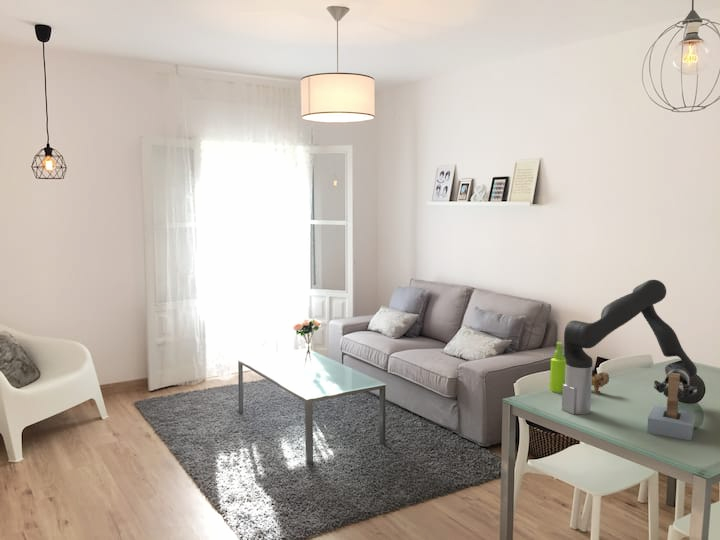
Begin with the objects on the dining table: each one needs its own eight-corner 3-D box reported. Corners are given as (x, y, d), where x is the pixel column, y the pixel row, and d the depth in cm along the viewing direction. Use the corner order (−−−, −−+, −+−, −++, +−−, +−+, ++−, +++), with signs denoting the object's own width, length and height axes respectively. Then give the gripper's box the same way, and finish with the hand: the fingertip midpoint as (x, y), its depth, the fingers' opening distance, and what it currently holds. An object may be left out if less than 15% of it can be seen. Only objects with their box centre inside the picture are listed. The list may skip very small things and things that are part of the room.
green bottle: (564, 388, 250) (566, 341, 247) (564, 393, 243) (566, 344, 241) (550, 387, 251) (551, 340, 249) (549, 392, 245) (551, 343, 243)
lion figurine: (610, 393, 244) (611, 371, 243) (605, 396, 240) (606, 374, 239) (575, 385, 253) (576, 365, 252) (569, 388, 250) (570, 367, 249)
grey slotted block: (691, 440, 195) (692, 425, 195) (647, 432, 202) (648, 418, 201) (694, 426, 208) (695, 412, 207) (652, 419, 215) (653, 405, 214)
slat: (676, 424, 202) (678, 377, 200) (666, 422, 203) (668, 376, 201) (677, 419, 206) (680, 373, 204) (667, 417, 208) (670, 372, 206)
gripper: (655, 368, 219) (650, 380, 204) (700, 374, 211) (697, 387, 197) (654, 388, 220) (648, 402, 205) (698, 394, 212) (696, 409, 198)
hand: (672, 394), depth 201 cm, fingers closed on slat, 3 cm apart
